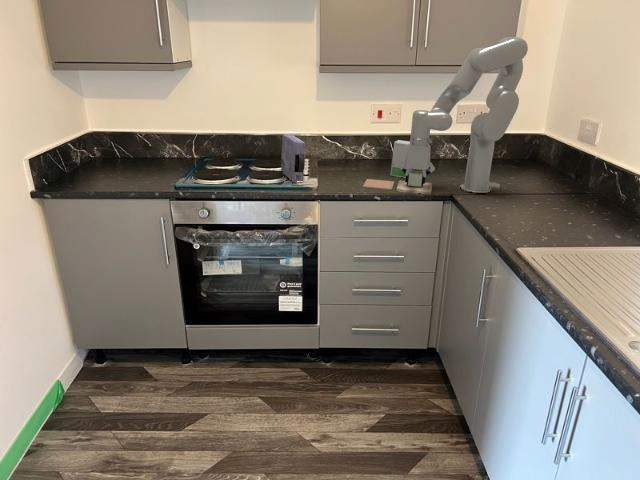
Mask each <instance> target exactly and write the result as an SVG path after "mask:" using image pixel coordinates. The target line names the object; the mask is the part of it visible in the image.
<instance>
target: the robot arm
mask: <svg viewBox="0 0 640 480" xmlns="http://www.w3.org/2000/svg"><path fill="white" fill-rule="evenodd" d="M528 50H529V46H528V43H527V41H526V40H524V39H523V38H521V37H517V36H516V37H514V36H513V37H512V36H511V37H510V36H508V37H504V38H501V39H500V40H499V41H498V42H497V43H496V44H495V45H491V46H488V47H475V48H473V49H472V50H471V51H470V52H469V53H468V55H467V56H466V58H465V59H464V62H463V63H462V64H461V66H460V68H459V69H458V71H457V73H456V74H455V76H454V77H453V79H452V80H451V82H450V83H449V85H448V86H447V87H446V88H445V89H444V90H443V92H442V93H441V94H440V95H439V97H438V98H437V100H436V101H435V102H434V105H433V106H432V108H431V110H430V111H429V110H425V109H418V110H414V111H413V112H412V119H411V129H410V140H409V142H410V144H408V146H407V150H406V156H405V160H404V161H403V162H402V163H401V164H400V165H399V166H398V167H399V168H400V169H401V170H402V171H403V172H404V174H405V175H406V178H404V181H405V182H406V183H407V185H408V180H409V172H410V169H412V170H413V171H421V172H423V176H422V183H421V186H423V184H425V183H426V177H427V176H429V175H430V174H431V173H432V172H434V171H436V168H435V166H434V165H433V163H432V162H431V155H432V154H431V151H432V150H431V145H430V144H433V141H434V140H433V139H431V138H430V135H431V130H433V131H439V132H444V131H445V132H446V131H447V130H449V129H450V128H451V127H452V124H453V118H452V115H451V114H450V113H451V112H452V110H453V109H454V107H455V106H456V105H457V104H458V102H460V101H462V100H463V99H464V98H466V97H467V96H469V95H470V94H471V93H472V91H473V90H474V88H475V86H476V85H477V83H478V82H479V80H480V78H481V77H482V76H483V74H484V73H488V72H492V71H496V70H498V74H497V76H496V79H495V80H494V82H493V83H492V86H491V88H490V90H489V92H488V94H487V96H486V99H485V105H486V106H487V108H488V110H489V111H488V112H482V113H479V114H477V115H476V116H474V118H473V120H472V122H471V125H470V141H469V143H470V144H469V148H468V149H469V151H468V155H467V163H466V170H465V176H464V183H462V184H460V185H459V188H460V187H461V188H462V189H464V190H467V191H472V192H488V191H490V190H491V191H492V188H493V189H500V187H501V184H500V183H497V182H491V181H490V175H491V168H492V162H493V157H494V151H495V150H494V149H495V142H497V141H499V140H500V139H501V138H502V137H504V135H505V133H506V131H507V129H508V128H509V127H510V124H511V122H512V120H513V118H514V116H515V115H516V112H517V110H518V107H519V103H520V98H519V95H518V93H517V92H516V89H517V87H518V86H519V83H520V81H521V79H522V75H523V70H524V62H523V59H524V58H526V55H527V53H528ZM403 165H404V166H405V168H407V170H406V169H405V168H404V167H403Z"/></svg>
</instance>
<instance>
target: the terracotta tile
mask: <svg viewBox="0 0 640 480" xmlns="http://www.w3.org/2000/svg"><path fill="white" fill-rule="evenodd" d="M394 184H395V181H393V180H384V179H382V180H381V179H373V178H372V179H371V178H366V180H365V182H364V184H363V186H362V188H364V189H373V190H374V189H375V190H383V191H384V190H386V191H392V190H393V188H394Z"/></svg>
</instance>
